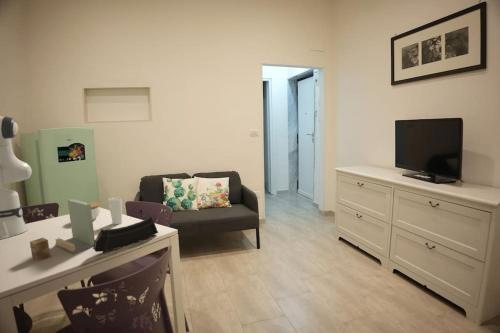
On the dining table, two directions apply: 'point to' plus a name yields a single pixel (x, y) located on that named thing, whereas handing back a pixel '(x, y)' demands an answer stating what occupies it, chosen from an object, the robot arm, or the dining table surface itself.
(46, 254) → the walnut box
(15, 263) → the dining table surface
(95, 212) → the lidded bowl
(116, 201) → the drinking glass
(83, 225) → the wall board
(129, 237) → the magazine
